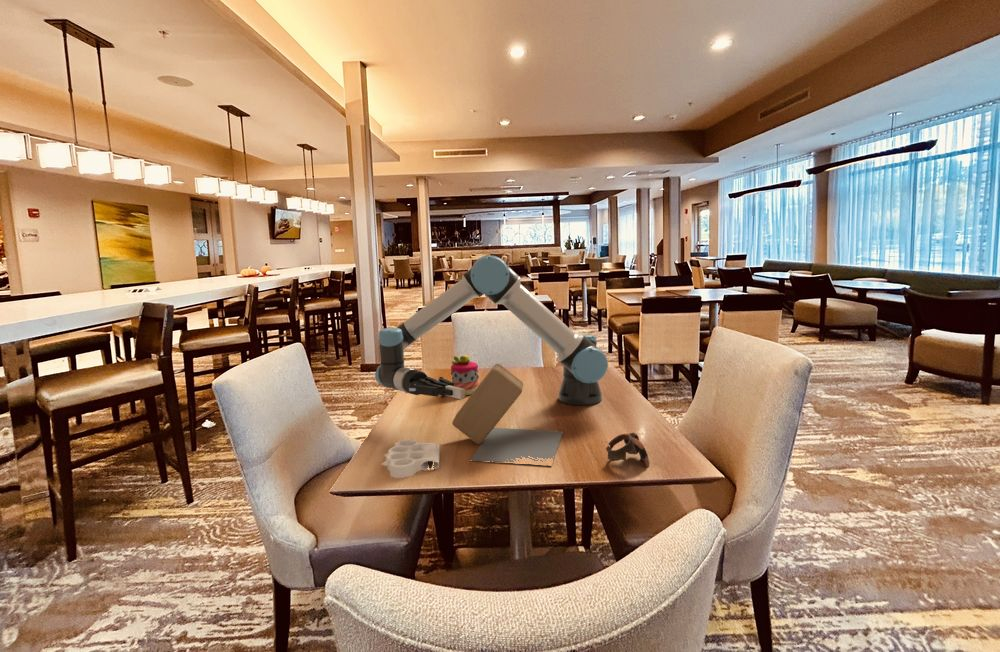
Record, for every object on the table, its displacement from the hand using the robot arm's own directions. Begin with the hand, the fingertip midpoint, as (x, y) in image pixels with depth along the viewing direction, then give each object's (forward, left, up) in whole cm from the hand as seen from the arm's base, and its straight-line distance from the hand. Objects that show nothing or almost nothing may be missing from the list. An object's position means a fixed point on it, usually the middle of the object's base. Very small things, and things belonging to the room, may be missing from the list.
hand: (462, 394), depth 142 cm
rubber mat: (-16, +1, -14) cm, 21 cm away
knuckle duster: (+10, +16, -15) cm, 23 cm away
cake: (+16, -49, -14) cm, 54 cm away
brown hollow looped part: (-45, +6, -14) cm, 48 cm away
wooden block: (-1, 0, -11) cm, 11 cm away
